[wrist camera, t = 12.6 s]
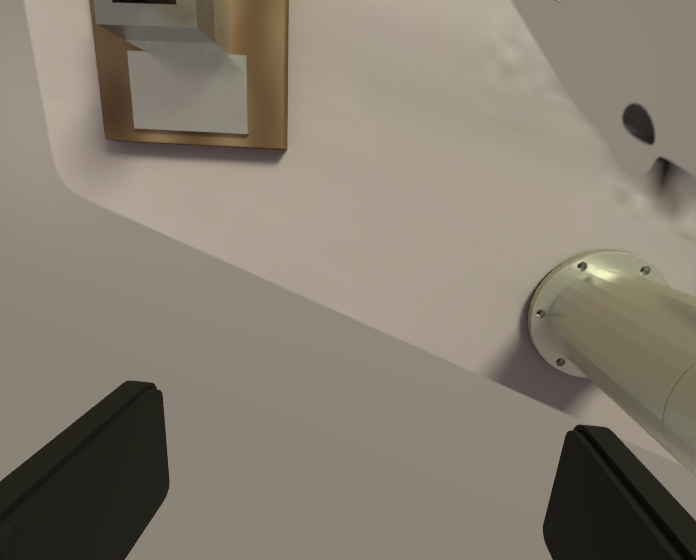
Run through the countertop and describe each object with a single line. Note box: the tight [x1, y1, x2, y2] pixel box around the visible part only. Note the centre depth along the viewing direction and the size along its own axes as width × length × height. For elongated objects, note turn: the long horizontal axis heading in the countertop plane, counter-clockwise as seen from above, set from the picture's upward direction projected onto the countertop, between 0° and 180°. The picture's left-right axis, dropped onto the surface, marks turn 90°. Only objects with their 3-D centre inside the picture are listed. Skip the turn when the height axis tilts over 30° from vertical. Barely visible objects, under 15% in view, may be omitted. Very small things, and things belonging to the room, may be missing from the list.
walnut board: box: [90, 0, 289, 150], centre depth 31 cm, size 16×21×2 cm
